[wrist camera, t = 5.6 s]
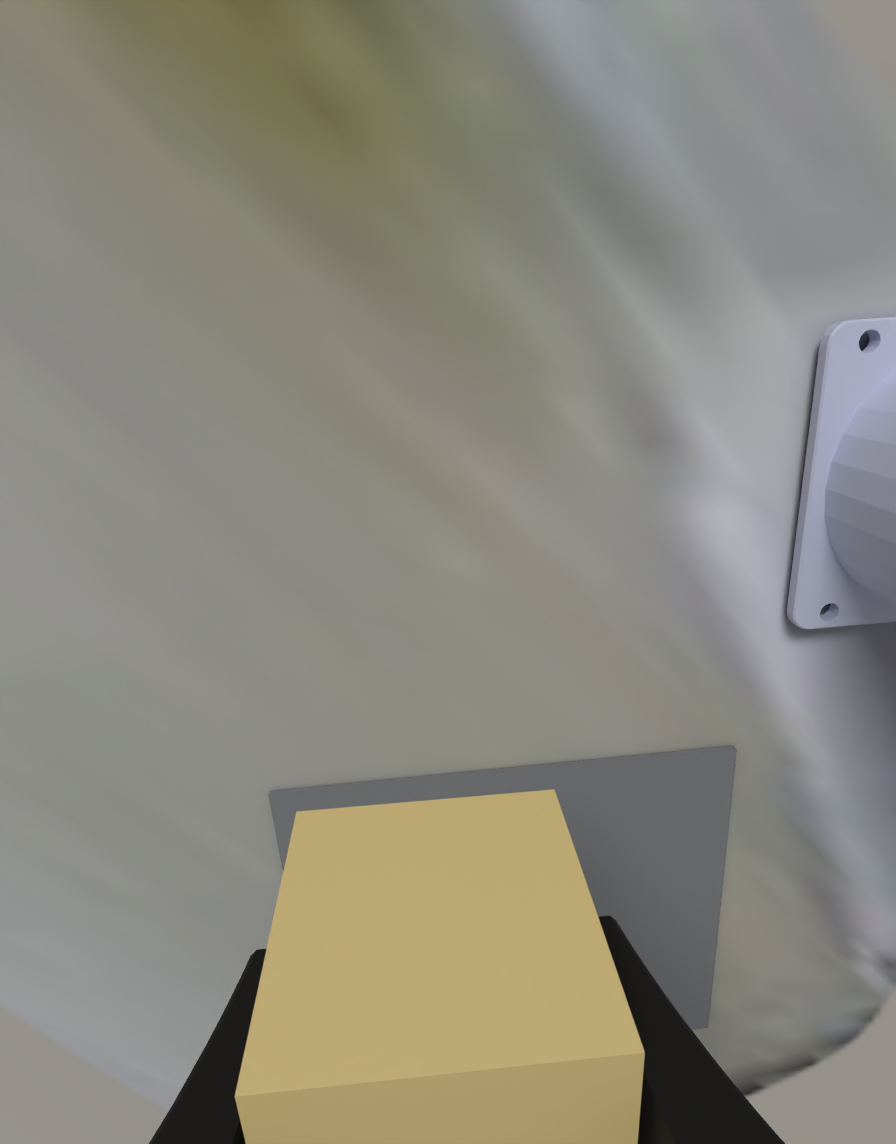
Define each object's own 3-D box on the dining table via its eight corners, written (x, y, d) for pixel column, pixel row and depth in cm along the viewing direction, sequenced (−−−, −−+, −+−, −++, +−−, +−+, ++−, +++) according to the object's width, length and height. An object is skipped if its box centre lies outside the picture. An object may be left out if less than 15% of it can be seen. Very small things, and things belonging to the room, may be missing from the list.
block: (554, 789, 11) (645, 1052, 7) (552, 975, 13) (626, 1283, 9) (296, 811, 11) (234, 1097, 7) (325, 998, 13) (289, 1325, 9)
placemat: (733, 745, 20) (736, 749, 20) (705, 1022, 24) (707, 1027, 24) (269, 791, 19) (268, 795, 19) (322, 1067, 23) (322, 1073, 23)
